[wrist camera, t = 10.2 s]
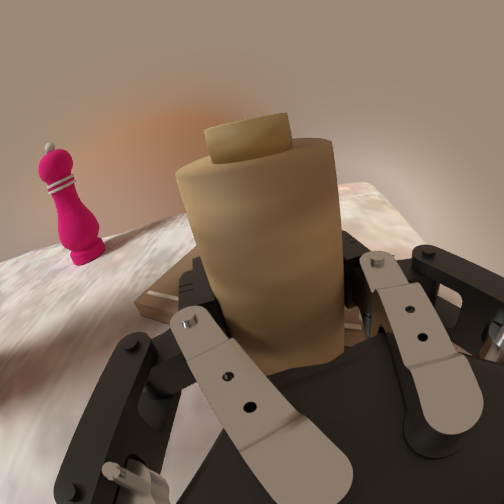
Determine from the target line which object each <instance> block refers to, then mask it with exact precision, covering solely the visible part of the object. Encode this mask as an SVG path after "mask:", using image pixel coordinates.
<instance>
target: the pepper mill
mask: <svg viewBox="0 0 504 504" xmlns="http://www.w3.org/2000/svg"><path fill="white" fill-rule="evenodd" d="M45 150H46V152H47V154H46V155H45V156H44V157H43V158H42V159H41V161H40V163H39V169H38V170H39V176H40V178H41V180H42V181H44V182H46V183H47V184H48V187H47V189H48V191H49V195H50V194H51V195H52V197H53V199H54V201H55V204H56V208H57V213H58V232H59V238H60V240H61V243H62V245H63V246H64V247H65V248H67V249H69V250H71V251H72V252H71V254H70V256H71V258H72V261H73V263H74V264H75V265H82V264H85V263H88V262H90V261H92V260H94V259H95V258H97V257H98V256H99V255H101V254H102V253H103V252H104V250H105V245H104V243H103V241H102V239H101V238H97V235H98V232H99V224H98V222H97V220H96V218H95V216H94V215H93V214H92V213H91V212H90V211H89V210H88V209H87V208H86V207H85V205H83V203H82V202H81V201H80V199H79V197H78V195H77V192H76V189H75V185H74V182H76V180H75V179H74V174H72V175H71V169H72V166H73V161H72V158H71V156H70V154H69V153H68V152H67V151H66V150H62V149H57V150H55V144H54V143H53V142H49V143H47V144H46V146H45Z"/></svg>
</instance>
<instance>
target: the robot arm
mask: <svg viewBox="0 0 504 504" xmlns="http://www.w3.org/2000/svg"><path fill="white" fill-rule="evenodd" d="M342 245H343V265H344V305H345V307H346V308H347V309H351V308H353V307H356V306H357V307H358V308H359V320H360V324H361V328H362V332H363V336H364V341H362V342H359V343H357V344H355V345H354V346H352V347H351V348H349V349H348V350H346V351H345V352H344V353H342V354H341V355H339V356H338V357H336V358H335V359H333V360H332V361H330V362H328V363H324V364H318V365H311V366H304V367H296V368H290V369H287V370H284V371H281V372H278V373H275V374H272V375H268V376H265V375H264V374H263V373H262V371H261V370H260V369H259V368H258V367H257V366H256V364H255V363H254V362H253V361H252V360H251V358H250V357H249V356H248V355H247V354H246V352H245V351H244V350H243V349H242V348H241V346H240V345H239V344H238V343H237V341H236V340H235V339H234V338H230V336H229V334H228V331H227V328H226V326H225V323H224V320H223V318H222V315H221V312H220V309H219V307H218V304H217V301H216V298H215V295H214V293H213V291H212V289H211V286H210V283H209V280H208V277H207V274H206V272H205V269H204V266H203V263H202V260H201V257H200V256H199V257H195V258H192V267H193V270H190V271H186V272H184V273H183V274H182V276H181V277H180V279H179V294H178V312H177V313H176V314H174V316H173V317H172V318H171V320H170V329H169V330H168V331H166V332H164V333H163V334H161V335H159V336H157V337H155V338H153V339H150V337H149V336H148V335H147V334H146V333H143V332H136V333H132V334H129V335H127V336H126V337H124V338H123V339H122V340H121V341H120V342H119V343H118V344H117V346H116V348H115V350H114V352H113V353H112V355H111V357H110V359H109V361H108V363H107V365H106V367H105V369H104V371H103V373H102V375H101V377H100V379H99V381H98V383H97V385H96V387H95V389H94V391H93V393H92V395H91V398H90V400H89V402H88V404H87V406H86V408H85V411H84V413H83V415H82V417H81V419H80V422H79V424H78V426H77V429H76V431H75V433H74V436H73V438H72V440H71V443H70V445H69V448H68V450H67V453H66V455H65V458H64V460H63V463H62V465H61V468H60V471H59V473H58V476H57V479H56V482H55V485H54V498H55V501H56V503H57V504H170V501H169V487H168V484H167V482H166V480H165V479H164V478H163V477H162V476H161V475H160V473H161V469H162V465H163V461H164V457H165V453H166V449H167V445H168V441H169V437H170V433H171V429H172V426H173V422H174V418H175V414H176V411H177V407H178V403H179V400H180V396H181V390H182V389H184V388H186V387H188V386H190V385H191V384H193V383H195V382H197V383H198V384H199V386H200V388H201V390H202V392H203V393H204V395H205V397H206V399H207V400H208V402H209V404H210V406H211V407H212V409H213V411H214V412H215V414H216V416H217V417H218V419H219V421H220V422H221V424H222V426H223V427H224V428H223V430H222V431H221V433H220V435H219V436H218V438H217V440H216V442H215V443H214V445H213V447H212V448H211V450H210V452H209V453H208V455H207V456H206V458H205V460H204V461H203V463H202V465H201V466H200V468H199V469H198V471H197V473H196V474H195V476H194V477H193V479H192V480H191V482H190V483H189V485H188V486H187V488H186V489H185V491H184V493H183V494H182V496H181V497H180V498H179V500H178V501H177V503H176V504H504V278H503V277H501V276H499V275H497V274H495V273H493V272H491V271H489V270H487V269H485V268H483V267H480V266H478V265H476V264H474V263H472V262H470V261H468V260H465V259H463V258H461V257H459V256H456V255H454V254H452V253H450V252H447V251H445V250H443V249H440V248H438V247H435V246H432V245H420V246H417V247H415V248H414V249H413V251H412V258H411V259H404V260H395V258H394V257H393V256H392V255H391V254H389V253H387V252H384V251H370V250H369V249H368V248H366V247H365V246H364V245H363V244H361V243H360V242H359V241H357V240H356V239H355V238H354V237H352V236H351V235H350V234H349V233H347V232H346V231H343V230H342ZM440 283H441V284H442V285H444V286H446V287H448V288H450V289H452V290H454V291H456V292H458V293H459V294H460V295H461V297H462V301H463V302H462V306H461V308H459V307H457V306H455V305H453V304H452V303H450V302H448V301H446V300H444V299H443V298H441V297H439V296H437V295H438V290H439V286H440ZM451 341H452V342H453V343H455V344H456V345H458V346H459V347H461V348H463V349H464V350H466V351H467V352H469V353H470V354H472V355H473V356H471V355H467V354H464V353H460V352H457V351H456V350H455V348H454V346H453V344H452V342H451Z"/></svg>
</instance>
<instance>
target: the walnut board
mask: <svg viewBox="0 0 504 504" xmlns="http://www.w3.org/2000/svg"><path fill="white" fill-rule="evenodd" d="M199 256H200V254H199V251H198V248H197V246H196V247H194V248H193V249H192V250H191V251H190V252H189V253H188V254H186V255H185V256H184V257H183V258H182V259H181V260H180V261H179V262H177V263H176V264H175V265H174V266H173V267H172V268H171V269H170V270H168V271H167V272H166V273H165V274H164V275H163V276H162V277H161V278H160V279H158V280H157V281H156V282H155V283H154V284H153V285H152V286H151V287H150V288H149V289H147V290H146V291H145V292H144V293H143V294H142V295H141V296H140V297H139V298H138V299H137V300H136V301H134V303H135V305H136V307H137V308H138V310H139V312H140V314H141V316H144V317H147V318H150V319H154V320H157V321H160V322H163V323H166V324H170V320H171V318H172V317H173V316H174V314H176V313H177V312H178V294H179V279H180V277H181V276H182V274H183V273H184V272H186V271H190V270H193V267H192V258H195V257H199ZM392 256H393V257H394V255H392ZM362 341H364V336H363V332H362V328H361V324H360V320H359V308H358V307H357V306H356V307H353V308H351V309H347V308H346V307H345V305H344V352H345V351H346V350H348V349H349V348H351V347H352V346H354V345H355V344H357V343H359V342H362Z"/></svg>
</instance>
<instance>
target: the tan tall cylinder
mask: <svg viewBox="0 0 504 504" xmlns="http://www.w3.org/2000/svg"><path fill="white" fill-rule="evenodd" d="M204 133H205V137H206V141H207V145H208V149H209V153H210V156H208V157H205V158H202V159H199V160H197V161H194V162H192V163H190V164H188V165H186V166H184V167H182V168H181V169H179V170H178V171H177V172H176V173H175V177H176V180H177V183H178V187H179V191H180V194H181V197H182V200H183V204H184V207H185V210H186V214H187V217H188V220H189V223H190V226H191V229H192V233H193V236H194V239H195V242H196V245H197V248H198V251H199V254H200V257H201V260H202V263H203V266H204V269H205V272H206V274H207V277H208V280H209V283H210V286H211V289H212V291H213V293H214V295H215V298H216V301H217V304H218V307H219V309H220V312H221V315H222V318H223V320H224V323H225V326H226V328H227V331H228V334H229V336H230V338H234V339H235V340H236V341H237V343H238V344H239V345H240V346H241V348H242V349H243V350H244V351H245V352H246V354H247V355H248V356H249V357H250V358H251V360H252V361H253V362H254V363H255V364H256V366H257V367H258V368H259V369H260V370H261V371H262V373H263V374H264V375H265V376H268V375H272V374H275V373H278V372H281V371H284V370H287V369H290V368H296V367H304V366H311V365H318V364H324V363H328V362H330V361H332V360H333V359H335V358H336V357H338V356H339V355H341V354H342V353H344V265H343V245H342V230H341V217H340V205H339V195H338V186H337V177H336V169H335V161H334V153H333V146H332V142H331V141H330V140H326V139H320V138H297V139H292V136H291V130H290V125H289V120H288V115H287V113H280V114H273V115H267V116H261V117H256V118H251V119H246V120H241V121H236V122H232V123H228V124H223V125H219V126H215V127H212V128H209V129H205V130H204Z"/></svg>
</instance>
